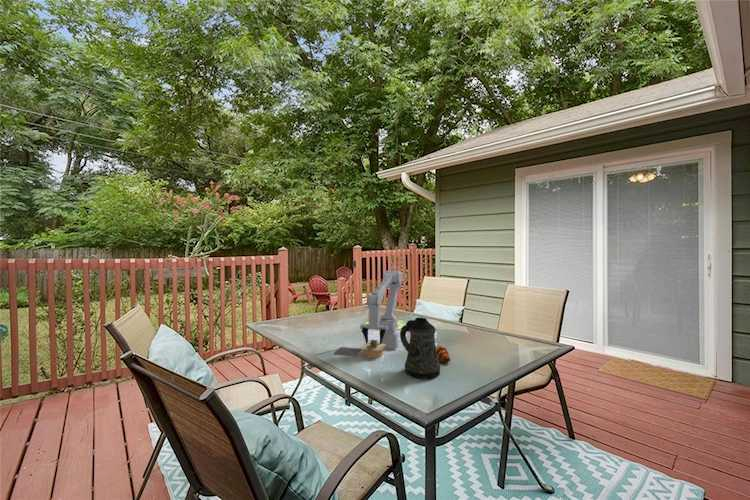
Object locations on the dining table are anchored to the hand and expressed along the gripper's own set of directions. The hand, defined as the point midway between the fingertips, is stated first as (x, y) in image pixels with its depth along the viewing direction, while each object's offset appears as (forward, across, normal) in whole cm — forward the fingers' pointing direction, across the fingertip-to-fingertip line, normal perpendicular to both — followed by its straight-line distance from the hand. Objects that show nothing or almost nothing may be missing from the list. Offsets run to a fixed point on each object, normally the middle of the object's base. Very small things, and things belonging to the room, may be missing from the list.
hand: (373, 343), depth 180 cm
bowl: (+7, 0, 0) cm, 7 cm away
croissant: (+7, +33, +7) cm, 35 cm away
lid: (+2, 0, 0) cm, 2 cm away
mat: (+7, -15, +2) cm, 17 cm away
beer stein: (+7, +26, -16) cm, 31 cm away
